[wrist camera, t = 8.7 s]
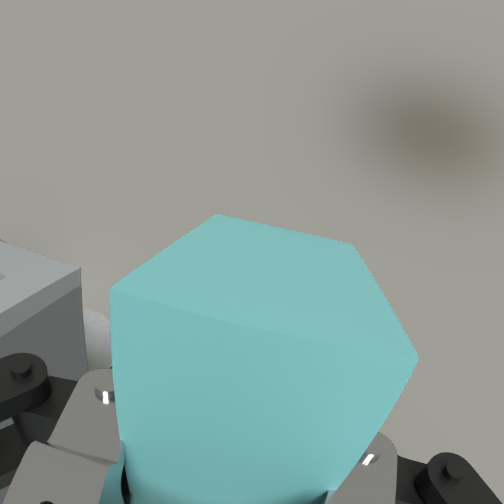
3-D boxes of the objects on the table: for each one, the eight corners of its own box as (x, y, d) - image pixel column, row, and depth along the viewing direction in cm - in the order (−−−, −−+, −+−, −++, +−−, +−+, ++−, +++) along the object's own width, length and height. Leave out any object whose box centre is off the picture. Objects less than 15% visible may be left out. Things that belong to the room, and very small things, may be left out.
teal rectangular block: (146, 552, 6) (110, 288, 3) (184, 456, 11) (217, 213, 8) (250, 578, 6) (419, 358, 3) (267, 476, 11) (352, 244, 8)
